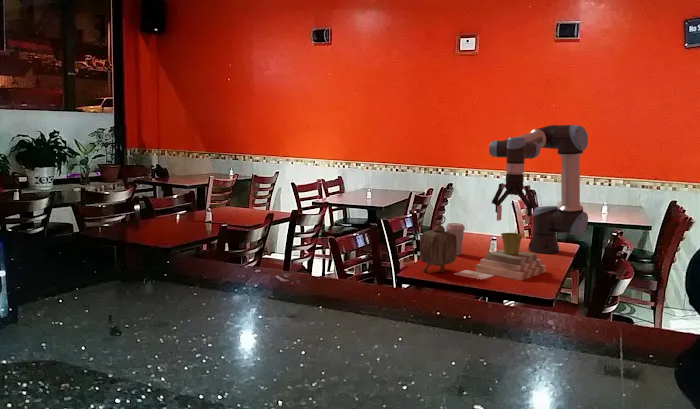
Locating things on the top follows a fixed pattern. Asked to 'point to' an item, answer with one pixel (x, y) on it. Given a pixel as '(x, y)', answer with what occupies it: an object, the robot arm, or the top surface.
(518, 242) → the plant pot
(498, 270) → the stepped tower
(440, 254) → the tabletop clock
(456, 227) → the coffee cup
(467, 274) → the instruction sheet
